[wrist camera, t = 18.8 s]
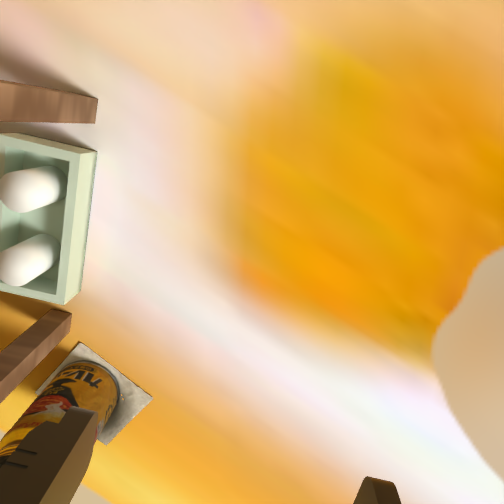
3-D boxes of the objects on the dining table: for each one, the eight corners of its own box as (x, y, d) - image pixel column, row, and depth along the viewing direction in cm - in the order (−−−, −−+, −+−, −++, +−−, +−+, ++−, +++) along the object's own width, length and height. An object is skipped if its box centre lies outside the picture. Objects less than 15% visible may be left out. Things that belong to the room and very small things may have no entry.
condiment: (81, 341, 37) (-3, 437, 25) (154, 397, 38) (106, 512, 27) (36, 391, 39) (-62, 502, 27) (107, 442, 40) (43, 569, 29)
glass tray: (20, 133, 32) (-24, 134, 27) (97, 151, 32) (66, 155, 27) (11, 274, 35) (-30, 298, 30) (80, 290, 35) (50, 316, 30)
